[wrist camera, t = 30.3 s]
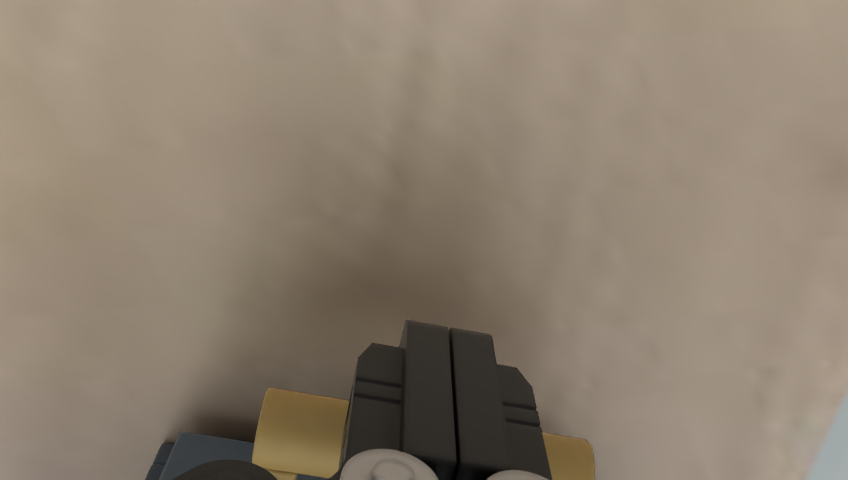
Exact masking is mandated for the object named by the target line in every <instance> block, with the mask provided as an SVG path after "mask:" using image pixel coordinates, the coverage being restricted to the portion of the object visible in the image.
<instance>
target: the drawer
mask: <svg viewBox="0 0 848 480" xmlns="http://www.w3.org/2000/svg"><path fill="white" fill-rule="evenodd" d="M348 406H349V400H343V399H337V398H331V397H325V396H319V395H313V394H307V393H301V392H294V391H288V390H282V389H276V388H268V390H267V391H266V394H265V397H264V400H263V404H262V408H261V412H260V417H259V421H258V426H257V431H256V437H255V442H254V443H252V442H246V441H240V440H233V439H227V438H221V437H215V436H208V435H202V434H196V433H189V432H180V433H179V435H178V437H177V439H176V442H175V444H174V446H173V448H172V451H171V453H170V455H169V458H168V460H167V462H166V465H165V467H164V469H163V471H162V474H161V476H160V478H159V480H172V479H173V478H175V477H177V476H179V475H181V474H183V473H185V472H187V471H189V470H191V469H192V468H194V467H197V466H199V465H201V464H204V463H207V462H211V461H216V460H229V459H230V460H241V461H246V462H250V463H253V464H256V465H258V466H260V467H262V468H264V469H266V470H267V471H269V472H270V473H271V474H272V475H274V476H275V477H276V478H277V480H327V479H328V478H330V477H332V476H333V475H334V474H335V473H336V472H337V471H338V469H339V460H340V453H341V446H342V439H343V431H344V425H345V421H346V416H347V411H348ZM542 435H543V439H544V444H545V448H546V453H547V457H548V462H549V466H550V471H551V475H552V480H594V475H595V464H594V455H593V450H592V447H591V445H590V443H589V442H588V441H587V440H585V439H579V438H573V437H567V436H561V435H555V434H549V433H543V432H542Z"/></svg>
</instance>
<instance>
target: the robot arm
mask: <svg viewBox="0 0 848 480" xmlns="http://www.w3.org/2000/svg"><path fill="white" fill-rule="evenodd" d="M172 480H277V478H276V477H275V476H274V475H272V474H271V473H270V472H269V471H267V470H266V469H264V468H262V467H260V466H258V465H256V464H253V463H250V462H246V461H241V460H230V459H229V460H216V461H211V462H207V463H204V464H201V465H199V466H197V467H194V468H192V469H191V470H189V471H187V472H185V473H183V474H181V475H179V476H177V477H175V478H173V479H172ZM327 480H552V475H551V471H550V466H549V462H548V457H547V453H546V448H545V444H544V439H543V435H542V430H541V428H540V421H539V416H538V412H537V411H536V403H535V398H534V394H533V389H532V386H531V385H530V384H529V383H528V381H527V380H526V379H525V378H524V376H523V375H522V374H521V373H520V371H519V370H518V369H517V368H515V367H510V366H504V365H498V364H496V358H495V352H494V346H493V339H492V336H491V335H490V334H484V333H479V332H473V331H467V330H462V329H456V328H449V330H448V327H444V326H438V325H433V324H427V323H421V322H416V321H410V320H406V322H405V325H404V329H403V333H402V337H401V342H400V346H399V347H394V346H388V345H382V344H376V343H372V344H371V345H370V346H369V347H368V348H367V349H366V350H365V351H364V352H363V353H362V354H361V355H360V356H359V357H358V362H357V366H356V371H355V376H354V381H353V386H352V391H351V396H350V401H349V406H348V411H347V416H346V421H345V425H344V431H343V439H342V446H341V453H340V460H339V469H338V471H337V472H336V473H335V474H334V475H333V476H332V477H330V478H328V479H327Z"/></svg>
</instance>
